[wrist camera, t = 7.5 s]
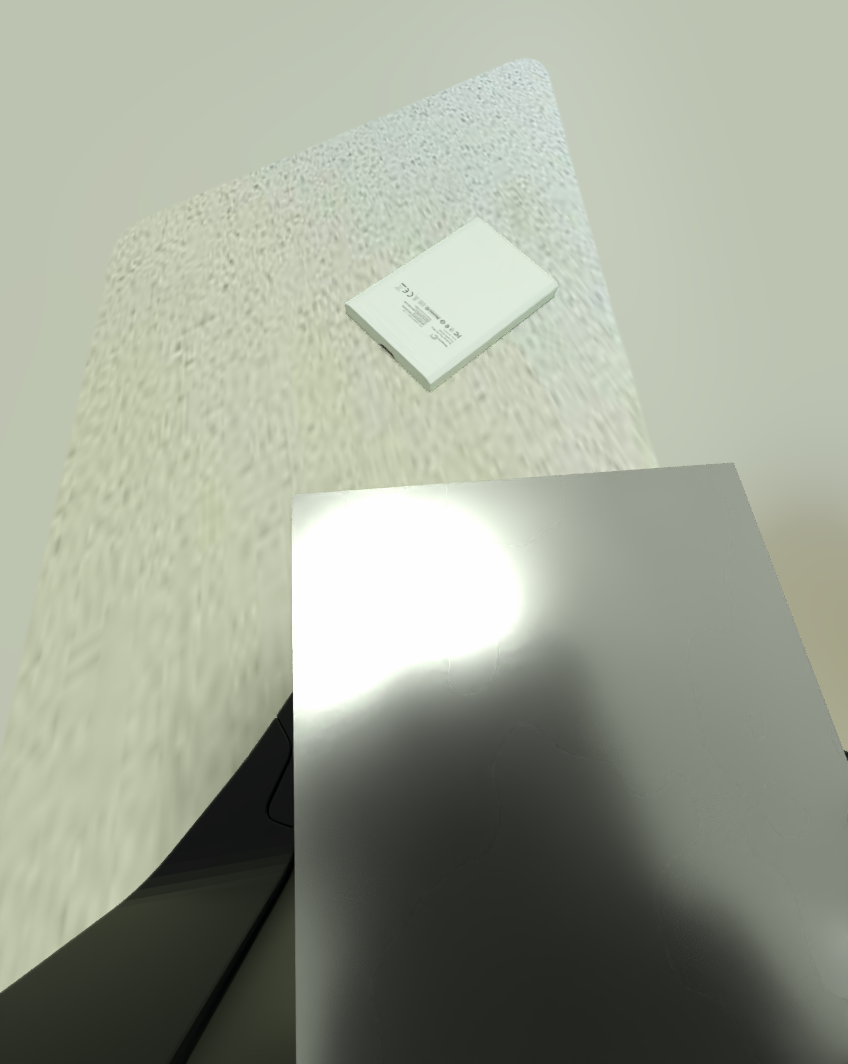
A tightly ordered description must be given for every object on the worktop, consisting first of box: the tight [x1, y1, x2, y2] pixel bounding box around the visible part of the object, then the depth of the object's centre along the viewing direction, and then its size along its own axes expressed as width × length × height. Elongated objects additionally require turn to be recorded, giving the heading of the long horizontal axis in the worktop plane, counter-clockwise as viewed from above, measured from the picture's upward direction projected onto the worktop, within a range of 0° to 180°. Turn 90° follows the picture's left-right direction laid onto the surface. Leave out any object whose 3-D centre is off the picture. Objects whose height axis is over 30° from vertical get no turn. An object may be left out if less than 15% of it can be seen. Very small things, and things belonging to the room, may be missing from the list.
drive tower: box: [292, 463, 848, 1064], centre depth 9 cm, size 5×5×13 cm
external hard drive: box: [345, 218, 558, 392], centre depth 24 cm, size 2×8×12 cm
